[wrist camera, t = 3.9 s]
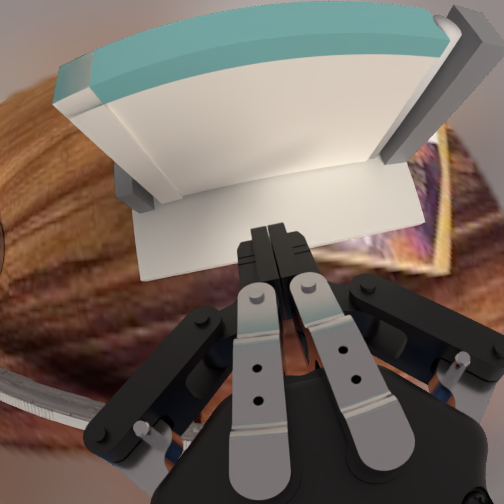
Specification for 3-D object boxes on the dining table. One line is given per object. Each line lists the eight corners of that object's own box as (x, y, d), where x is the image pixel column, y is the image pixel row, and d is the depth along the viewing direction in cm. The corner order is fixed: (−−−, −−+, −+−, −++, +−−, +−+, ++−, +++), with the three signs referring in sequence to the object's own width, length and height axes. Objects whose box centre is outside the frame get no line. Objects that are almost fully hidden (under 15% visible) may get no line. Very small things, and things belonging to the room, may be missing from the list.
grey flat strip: (-47, 332, 21) (-91, 337, 14) (207, 398, 25) (206, 437, 17) (-47, 348, 21) (-90, 356, 13) (205, 417, 24) (204, 460, 17)
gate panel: (162, 203, 21) (52, 104, 8) (159, 178, 22) (59, 66, 9) (381, 161, 21) (470, 44, 8) (373, 138, 21) (447, 13, 8)
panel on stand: (146, 281, 22) (-15, 255, 7) (130, 111, 24) (46, -8, 9) (419, 224, 22) (561, 146, 7) (360, 69, 24) (405, -62, 9)
